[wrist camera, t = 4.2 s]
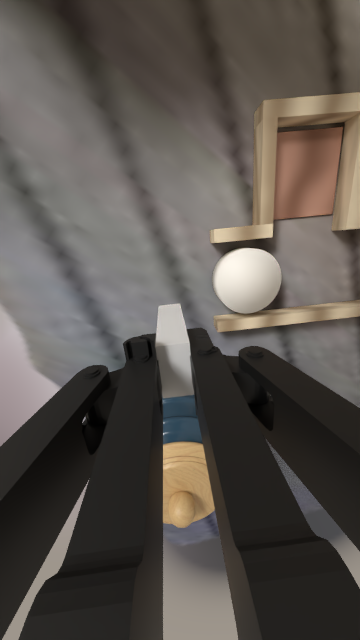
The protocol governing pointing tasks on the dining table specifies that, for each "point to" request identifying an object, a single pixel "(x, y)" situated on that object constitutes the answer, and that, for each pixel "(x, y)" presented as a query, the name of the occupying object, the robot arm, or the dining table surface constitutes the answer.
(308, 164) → the beige flat wooden frame
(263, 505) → the robot arm
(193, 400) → the canister
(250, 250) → the white pebble
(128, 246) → the dining table surface
